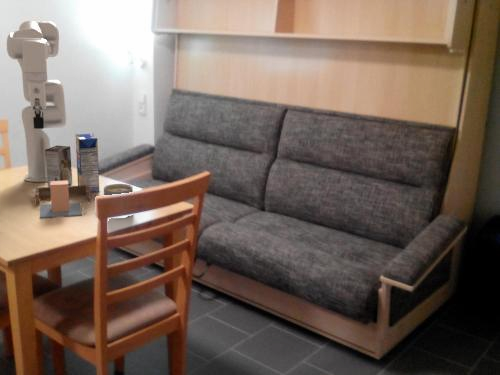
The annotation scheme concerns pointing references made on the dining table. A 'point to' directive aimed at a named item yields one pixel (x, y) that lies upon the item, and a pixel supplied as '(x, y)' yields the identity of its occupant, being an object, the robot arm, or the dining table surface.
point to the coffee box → (58, 164)
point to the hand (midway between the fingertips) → (39, 125)
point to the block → (59, 196)
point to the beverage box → (87, 161)
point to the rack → (73, 190)
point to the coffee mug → (117, 189)
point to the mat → (47, 211)
